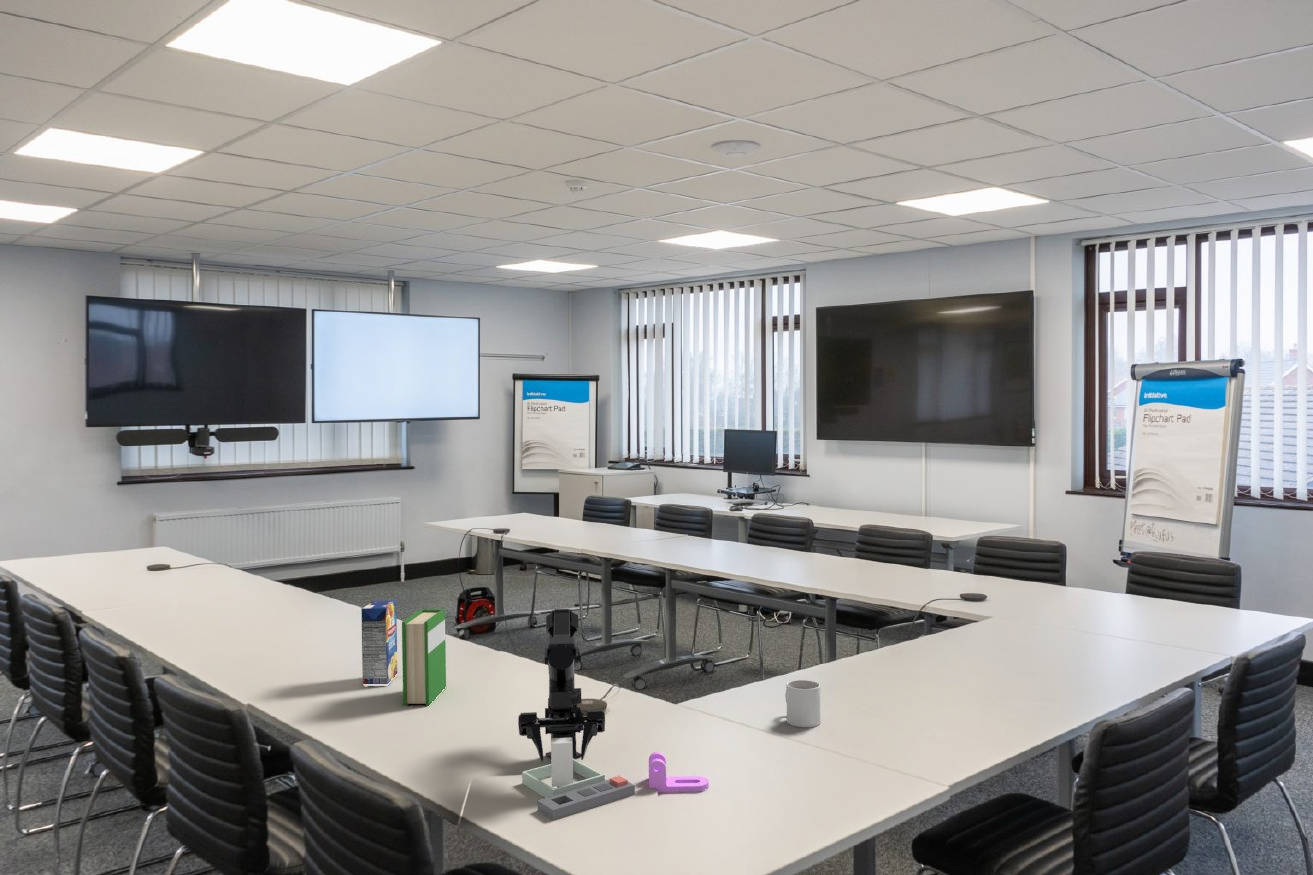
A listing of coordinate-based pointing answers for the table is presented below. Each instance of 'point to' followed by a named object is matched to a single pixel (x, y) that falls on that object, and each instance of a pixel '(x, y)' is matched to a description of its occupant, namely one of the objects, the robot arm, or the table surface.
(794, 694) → the mug
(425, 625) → the hardback book
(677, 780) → the bracket
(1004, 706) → the table surface
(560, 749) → the white long block
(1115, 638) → the table surface
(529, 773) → the tray
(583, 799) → the power strip
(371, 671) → the juice carton
